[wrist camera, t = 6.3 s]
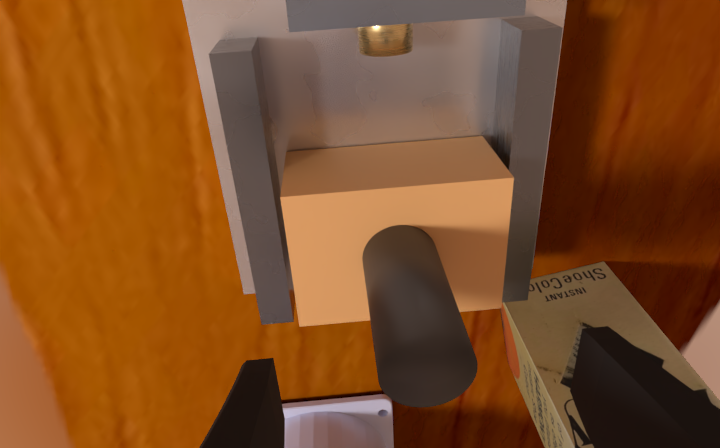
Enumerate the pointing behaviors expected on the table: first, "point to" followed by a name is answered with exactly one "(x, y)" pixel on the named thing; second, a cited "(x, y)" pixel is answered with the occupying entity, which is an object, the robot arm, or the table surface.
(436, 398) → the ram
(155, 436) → the table surface
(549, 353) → the shoe polish box
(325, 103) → the frame
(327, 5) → the housing
